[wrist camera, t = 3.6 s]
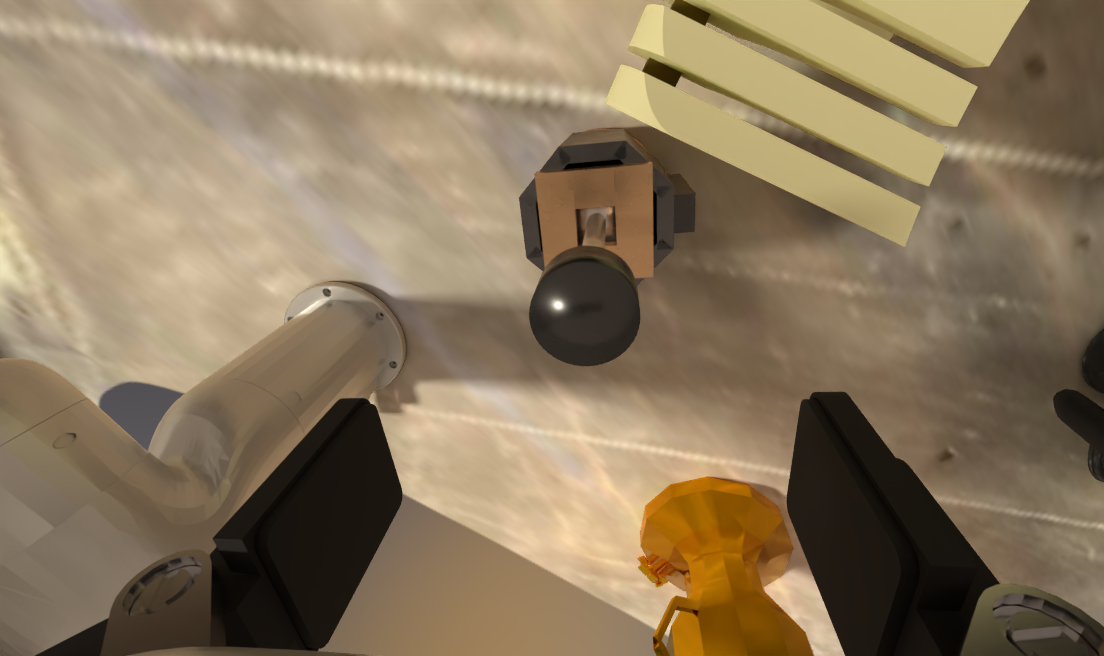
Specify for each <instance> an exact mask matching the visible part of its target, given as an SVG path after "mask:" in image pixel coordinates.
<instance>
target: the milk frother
mask: <svg viewBox="0 0 1104 656" xmlns="http://www.w3.org/2000/svg"><path fill="white" fill-rule="evenodd" d="M1082 368H1083V370H1082V371H1083V372H1082V373H1083V377H1084V378H1085V380H1086V382H1087V383H1088V385H1089V386H1091V387H1092V388H1093V389H1094V390H1096V391H1098V392H1100V393H1102V394H1104V329H1103V330H1102V331H1101V332H1100V333H1099V334H1098V335H1097V336H1096V337H1095V338H1094V339H1093V341H1092V342H1091V343H1090V345H1089V347H1088V348H1087V350H1086V352H1085V355H1084V358H1083V361H1082ZM1053 401H1054V408H1055V411H1056V414H1057V416H1058V417H1059V418H1060V419H1061V420H1062V421H1063V422H1064V423H1065V424H1066V425H1068V426H1069V427H1070V428H1071V429H1072V430H1074V431H1075V432H1076V433H1077V434H1078V435H1080V436H1081V437H1082V438H1083V439H1084V440H1085V441H1087V442H1088V443H1089V444H1090V447H1089V451H1088V467H1089V470H1090V472H1091V474H1092V475H1093V476H1094V477H1095V478H1096V479H1097V480H1099V481H1102V482H1104V409H1103V408H1101V407H1100V406H1098V405H1097V404H1096V403H1094V402H1093V401H1091V400H1090V399H1089V398H1087V397H1085V396H1084V395H1082V394H1081V393H1079V392H1078V391H1074V390H1069V389H1065V390H1062V391H1060V392H1058V393H1056V395H1055V396H1054V398H1053Z"/></svg>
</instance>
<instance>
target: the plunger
mask: <svg viewBox="0 0 1104 656" xmlns="http://www.w3.org/2000/svg"><path fill="white" fill-rule="evenodd" d="M576 212H577V225H578V238H579V243H583V244H582V246H577V247H573V248H570V249H567V250H565V251H563V252H561V253H559V254H558V255H557V256H555V257H554V258H553V259H552V260H551V261H550V262H549V263H548V265H547V266H546V267H545V269H544V271H543V273H542V275H541V278H540V280H539V283H538V285H537V288H536V290H535V293H534V295H533V298H532V300H531V304H530V311H529V318H530V325H531V328H532V331H533V334H534V336H535V338H536V339H537V341H538V342H539V344H540V345H541V346H542V347H543V348H544V349H545V350H546V351H547V352H548V353H549V354H551V355H552V356H553V357H555V358H557V359H559V360H561V361H563V362H566V363H569V364H573V365H578V366H594V365H599V364H603V363H606V362H609V361H611V360H613V359H615V358H617V357H618V356H620V355H621V354H622V353H623V352H625V351H626V350H627V348H628V347H629V346H630V345H631V344H632V342H633V341H634V339H635V337H636V335H637V332H638V329H639V324H640V308H639V300H638V292H637V284H636V280H635V277H634V275H633V272H632V271H631V269H630V267H629V266H628V265H627V263H626V262H625V261H624V260H623V259H622V258H621V257H619V256H618V255H617V254H615V253H613V252H612V251H610V250H607V249H605V242H608V241H617V238H616V214H615V206H609V207H595V208H582V209H576Z"/></svg>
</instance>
